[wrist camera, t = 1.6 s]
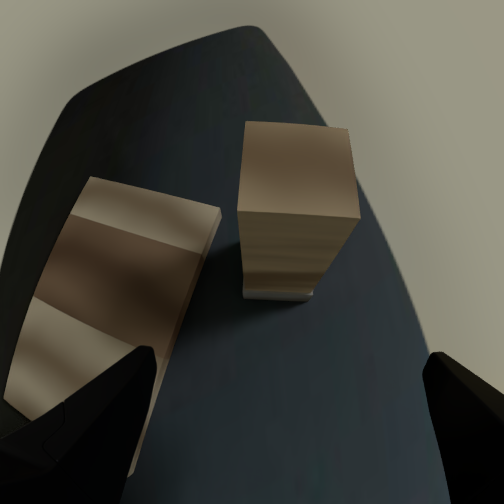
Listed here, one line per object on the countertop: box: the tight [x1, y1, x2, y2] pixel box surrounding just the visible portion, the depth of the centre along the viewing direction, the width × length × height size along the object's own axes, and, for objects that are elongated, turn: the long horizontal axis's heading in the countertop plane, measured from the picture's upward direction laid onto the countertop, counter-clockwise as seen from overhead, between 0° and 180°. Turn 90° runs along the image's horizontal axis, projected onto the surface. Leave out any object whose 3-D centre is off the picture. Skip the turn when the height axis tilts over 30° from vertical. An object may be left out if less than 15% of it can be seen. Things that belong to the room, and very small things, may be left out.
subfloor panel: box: [4, 177, 222, 477], centre depth 22 cm, size 22×13×2 cm, turn 163°
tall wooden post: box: [237, 121, 360, 302], centre depth 18 cm, size 5×5×13 cm
